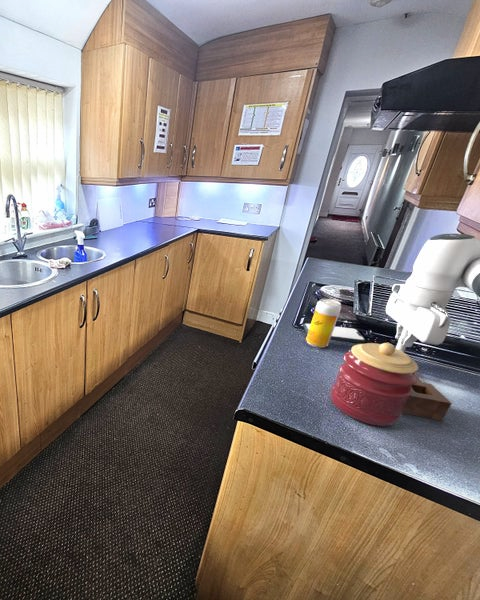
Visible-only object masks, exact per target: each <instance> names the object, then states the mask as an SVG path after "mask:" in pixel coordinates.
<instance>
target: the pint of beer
mask: <svg viewBox="0 0 480 600" xmlns="http://www.w3.org/2000/svg"><path fill="white" fill-rule="evenodd" d="M341 310H342V303H341V302H339V301H338V300H335V299H331V298H320V299H319V301H317V302H316V306H315V309H314V313H313V316H312V319H311V322H310V324H311V325H310V328H309V331H308V334H307V333H306V334H307V335H306V338H305V341H306V343H307V344H308V345H310V346H312V347H315V348H320V349H321V348H322V349H323V348H326V347H329V344H330V341H331V340H332V339H331V336H332V333H333V330H334V327H336V323H337V321H338V319H339V316H340V313H341Z"/></svg>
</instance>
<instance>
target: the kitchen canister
mask: <svg viewBox="0 0 480 600" xmlns="http://www.w3.org/2000/svg"><path fill="white" fill-rule="evenodd" d="M350 350H351V351H349V352H348V351H347V352H346V353H344V355H343V361H344V363H342V364H340V365H339V367H338V373H337V376H336V378H335V380H334V383H333V385H332V386H331V388H330V394H329V395H330V396H329V397H330V401H331V402H332V403H333V405H334V406H335V407H336V408H337V409H338V410H339V411H341V412H342V413H344V414H345V415H346V416H349V417H350V418H353V419H355V420H357V421H359V422H363V423H364V424H365V423H366V424H367V425H374V426H380V427H388V426H392V425H395V423H396V422H397V421H398V420H400V419H401V416H402V415H403V413H402V410H403V408H404V406H405V404H406V402H407V400H408V398H409V396H410V395H411V394H412V392H413V389H412V385H413V384H416V383H417V382H418V381H419V377H420V375H419V374H418V372H417V371H418V370H419V366H418V363H417V362H416V360H414V359H412V358H411V357H410V356H409V355H408V354H407V353H405V351H404V352H402V351H400V350H398V349H396V346H395V345H393V344H392V343H390V342H383V343H373V342H367V343H357V344H355V345H353V346H352V347H351V349H350Z"/></svg>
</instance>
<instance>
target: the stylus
mask: <svg viewBox="0 0 480 600" xmlns="http://www.w3.org/2000/svg"><path fill="white" fill-rule="evenodd" d="M407 336H408V330H406V329H405V328H403V331H402V334H401V336H400V339H399V341H398V340H397V343H396V346H395V349H398V350H400V351H402V352H404V353H405V351H406V348H407V347H405V346H404V345H402V344H401V341H402V339H403V338H406V337H407Z"/></svg>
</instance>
